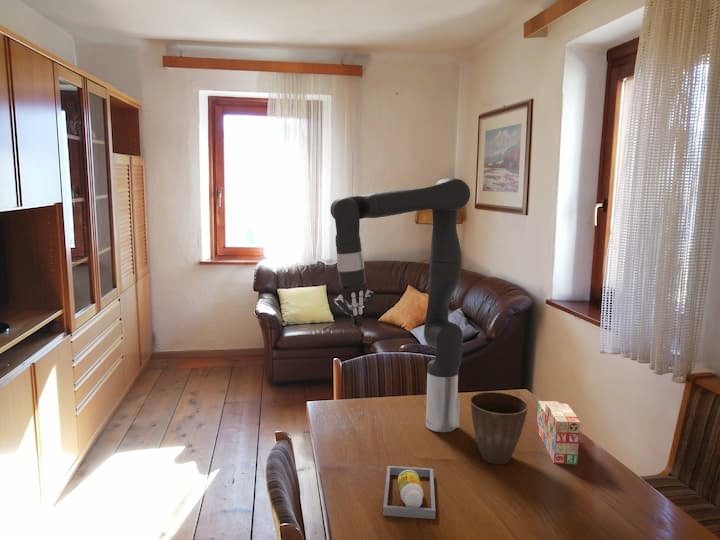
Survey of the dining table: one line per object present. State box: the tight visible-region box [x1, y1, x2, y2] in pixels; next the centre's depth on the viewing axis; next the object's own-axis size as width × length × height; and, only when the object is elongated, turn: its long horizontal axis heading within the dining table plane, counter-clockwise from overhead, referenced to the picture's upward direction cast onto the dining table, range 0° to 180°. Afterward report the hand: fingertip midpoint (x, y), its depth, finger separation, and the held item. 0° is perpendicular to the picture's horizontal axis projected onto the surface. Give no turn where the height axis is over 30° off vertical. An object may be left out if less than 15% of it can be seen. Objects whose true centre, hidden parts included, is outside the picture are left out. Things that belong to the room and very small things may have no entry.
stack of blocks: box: [536, 400, 582, 465], centre depth 158 cm, size 21×6×12 cm, turn 175°
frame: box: [382, 465, 436, 520], centre depth 133 cm, size 19×12×2 cm, turn 174°
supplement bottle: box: [397, 470, 424, 508], centre depth 130 cm, size 5×5×10 cm
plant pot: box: [470, 391, 529, 465], centre depth 150 cm, size 15×15×16 cm
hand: (357, 326), depth 160 cm, fingers closed
